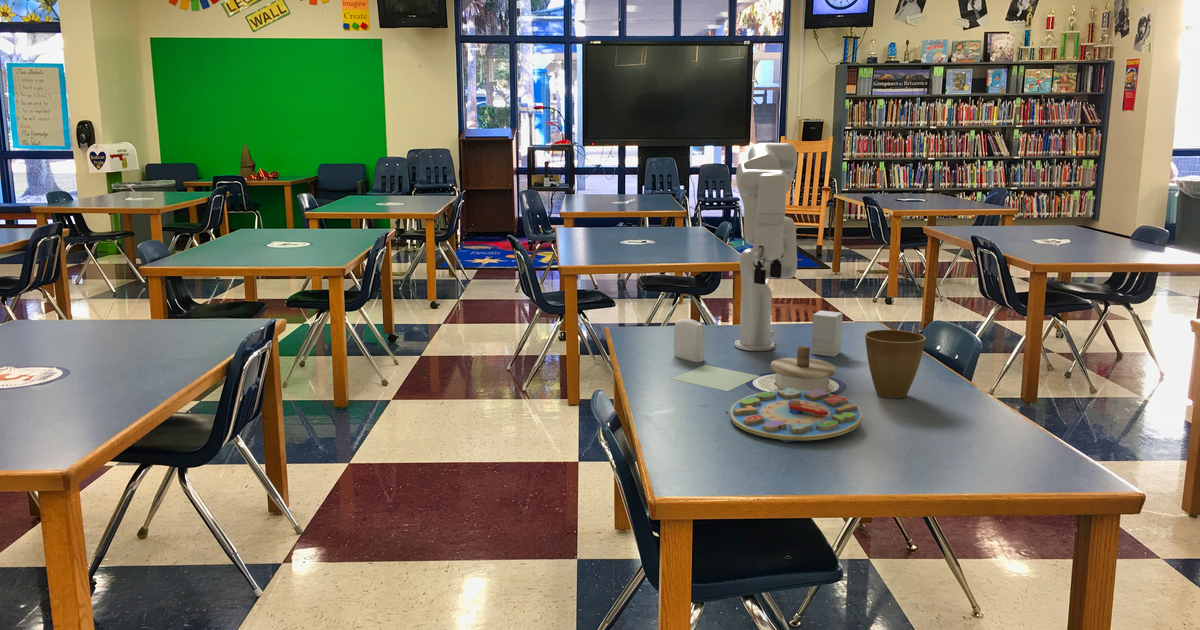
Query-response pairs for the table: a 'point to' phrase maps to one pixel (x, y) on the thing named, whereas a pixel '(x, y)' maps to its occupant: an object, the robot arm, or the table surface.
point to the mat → (715, 377)
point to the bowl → (802, 383)
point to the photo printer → (689, 340)
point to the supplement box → (827, 333)
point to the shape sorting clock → (796, 414)
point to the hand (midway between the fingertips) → (767, 280)
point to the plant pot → (893, 360)
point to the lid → (803, 366)
